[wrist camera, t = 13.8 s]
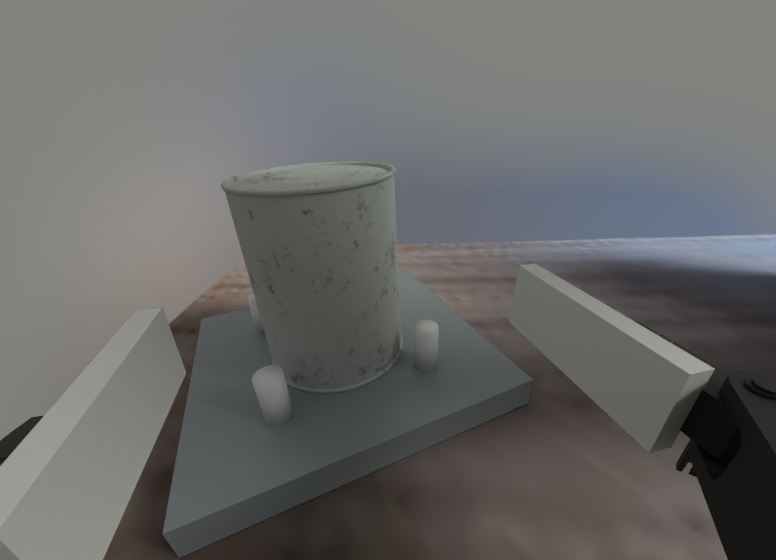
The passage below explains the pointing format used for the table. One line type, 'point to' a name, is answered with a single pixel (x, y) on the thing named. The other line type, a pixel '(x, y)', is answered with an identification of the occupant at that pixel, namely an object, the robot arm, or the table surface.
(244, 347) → the stub board
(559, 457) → the table surface
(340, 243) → the grey marbled cylinder
